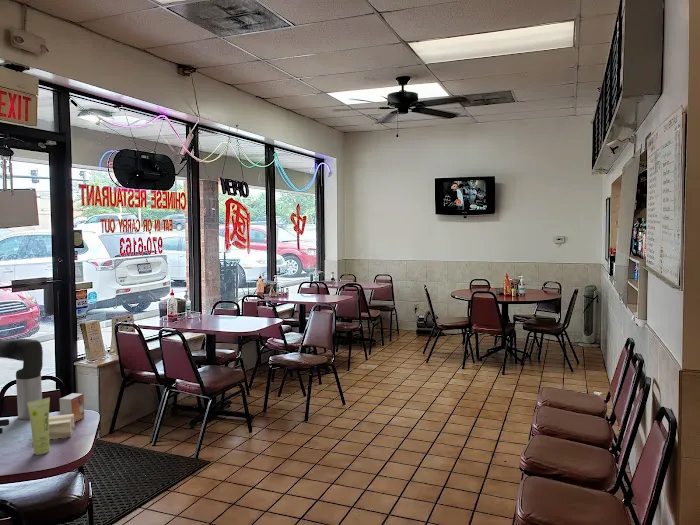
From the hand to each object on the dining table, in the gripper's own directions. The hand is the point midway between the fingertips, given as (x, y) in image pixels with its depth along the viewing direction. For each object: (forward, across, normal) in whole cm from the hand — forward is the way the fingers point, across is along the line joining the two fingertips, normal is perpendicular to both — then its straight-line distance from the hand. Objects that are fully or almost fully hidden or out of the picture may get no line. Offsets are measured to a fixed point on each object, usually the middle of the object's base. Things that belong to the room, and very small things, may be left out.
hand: (5, 426), depth 200 cm
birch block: (+13, +17, +11) cm, 24 cm away
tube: (+11, 0, +11) cm, 15 cm away
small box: (+17, +32, +11) cm, 38 cm away
